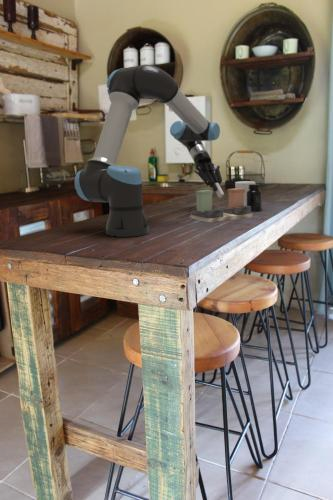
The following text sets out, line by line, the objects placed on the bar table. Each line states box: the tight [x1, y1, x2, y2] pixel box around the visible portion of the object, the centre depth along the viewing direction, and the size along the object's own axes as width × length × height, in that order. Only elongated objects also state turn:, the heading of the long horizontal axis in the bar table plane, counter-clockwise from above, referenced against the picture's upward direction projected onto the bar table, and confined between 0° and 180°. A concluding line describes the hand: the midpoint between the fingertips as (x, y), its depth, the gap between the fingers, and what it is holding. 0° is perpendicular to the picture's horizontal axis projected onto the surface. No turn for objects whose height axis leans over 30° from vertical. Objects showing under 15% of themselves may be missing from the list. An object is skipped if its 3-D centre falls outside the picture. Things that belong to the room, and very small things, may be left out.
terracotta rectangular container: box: [227, 188, 245, 209], centre depth 182 cm, size 6×5×10 cm
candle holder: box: [234, 180, 257, 206], centre depth 211 cm, size 10×10×12 cm
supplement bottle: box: [247, 183, 263, 212], centre depth 198 cm, size 7×7×12 cm
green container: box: [194, 189, 214, 212], centre depth 179 cm, size 6×5×10 cm
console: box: [189, 206, 254, 223], centre depth 181 cm, size 22×14×4 cm, turn 118°
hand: (221, 195), depth 190 cm, fingers closed
